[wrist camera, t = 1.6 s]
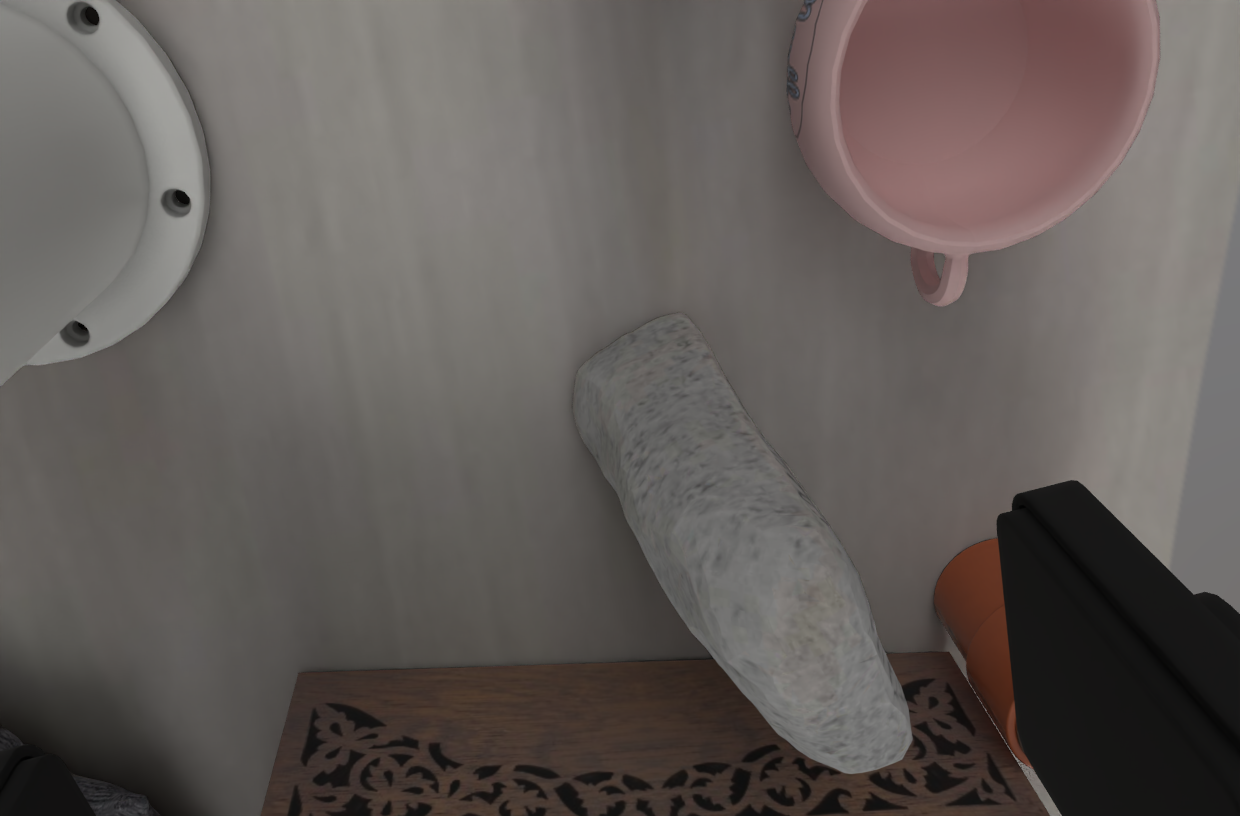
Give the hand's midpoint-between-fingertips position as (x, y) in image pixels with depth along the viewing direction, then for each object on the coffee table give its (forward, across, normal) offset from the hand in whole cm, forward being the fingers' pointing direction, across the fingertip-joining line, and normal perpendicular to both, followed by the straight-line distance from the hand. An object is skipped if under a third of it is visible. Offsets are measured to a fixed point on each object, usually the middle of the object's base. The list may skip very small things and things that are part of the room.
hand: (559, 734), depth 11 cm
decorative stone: (+26, -3, +11) cm, 29 cm away
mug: (+26, -13, +1) cm, 29 cm away
